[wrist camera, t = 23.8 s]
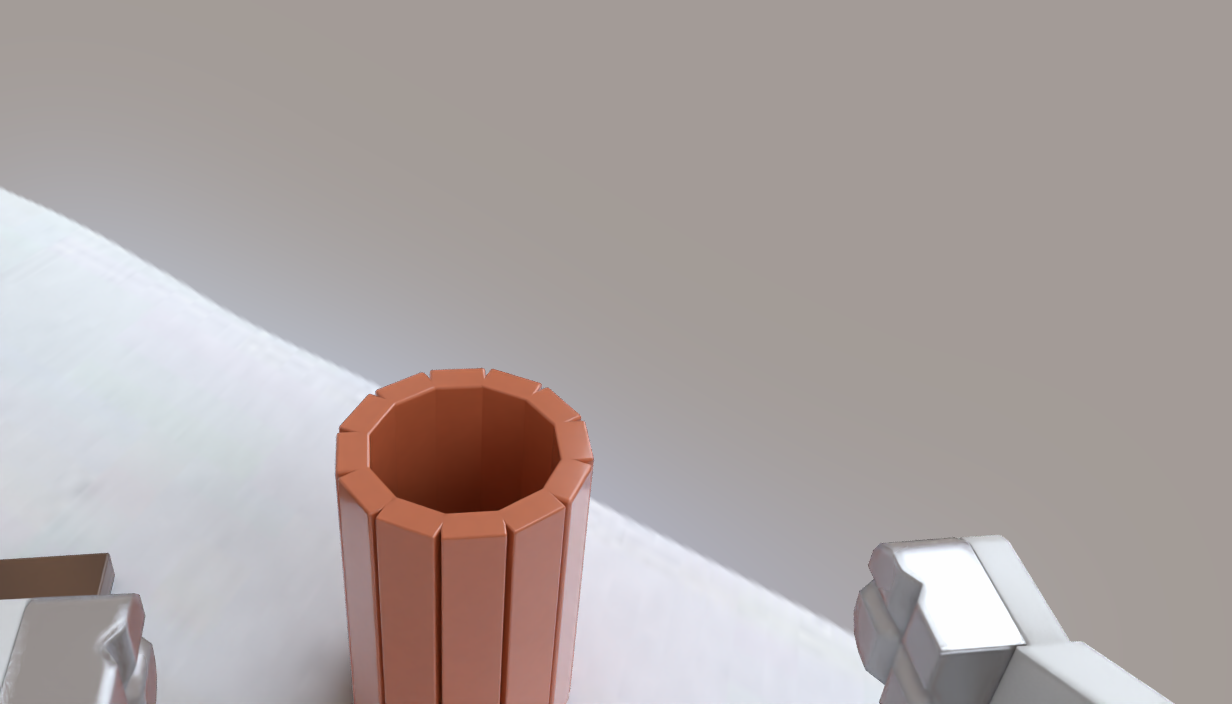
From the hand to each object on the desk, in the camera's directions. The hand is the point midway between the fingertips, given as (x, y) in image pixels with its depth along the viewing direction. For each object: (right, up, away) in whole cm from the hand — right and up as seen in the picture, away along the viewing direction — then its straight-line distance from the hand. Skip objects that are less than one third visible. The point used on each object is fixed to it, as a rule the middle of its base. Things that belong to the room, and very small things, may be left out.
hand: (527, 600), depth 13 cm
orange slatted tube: (-3, -7, +20) cm, 21 cm away
